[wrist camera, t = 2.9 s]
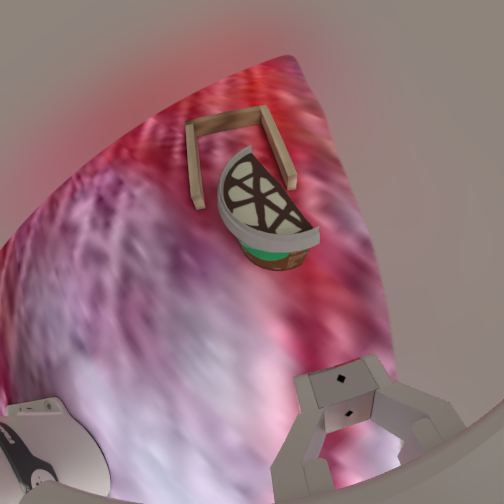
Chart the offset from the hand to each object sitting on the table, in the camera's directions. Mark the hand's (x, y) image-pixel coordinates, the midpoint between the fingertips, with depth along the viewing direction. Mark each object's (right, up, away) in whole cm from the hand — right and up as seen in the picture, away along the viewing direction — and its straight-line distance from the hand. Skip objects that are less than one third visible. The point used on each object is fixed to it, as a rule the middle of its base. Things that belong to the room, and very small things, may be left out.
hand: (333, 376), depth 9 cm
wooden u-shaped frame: (-5, +18, +30) cm, 35 cm away
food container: (-2, +5, +24) cm, 24 cm away
